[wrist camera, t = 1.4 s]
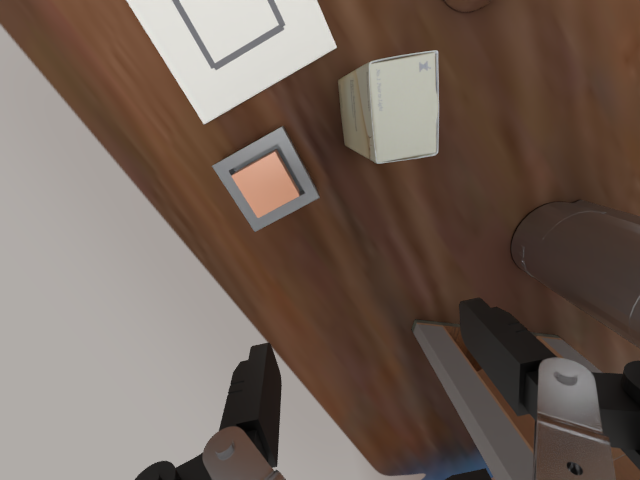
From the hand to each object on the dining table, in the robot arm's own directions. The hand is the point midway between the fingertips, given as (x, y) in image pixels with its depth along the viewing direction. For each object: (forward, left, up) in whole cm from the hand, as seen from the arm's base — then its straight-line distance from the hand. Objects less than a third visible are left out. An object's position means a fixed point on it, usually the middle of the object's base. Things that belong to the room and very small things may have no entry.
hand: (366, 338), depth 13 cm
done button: (+3, -5, -19) cm, 20 cm away
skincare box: (-8, -6, -22) cm, 24 cm away
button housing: (+3, -5, -22) cm, 23 cm away
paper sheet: (-1, -20, -22) cm, 30 cm away
